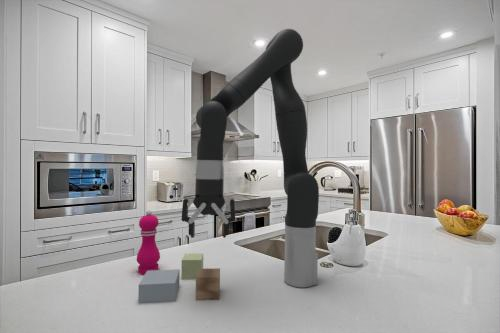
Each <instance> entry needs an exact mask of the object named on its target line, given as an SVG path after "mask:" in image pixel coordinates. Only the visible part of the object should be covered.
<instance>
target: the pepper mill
mask: <svg viewBox="0 0 500 333" xmlns="http://www.w3.org/2000/svg"><path fill="white" fill-rule="evenodd" d="M159 223H160V222H159V218H158V217H157V216H156V215H154V214H153V212H152V210H150V209H148V210H147V211H146V212H145V215H143V216H141V218H140V219H139V221H138V226H139V228H140V229H141V230H140V235H141V237H142V238H141V241H142V242H141V245H140V248H139V249H138V252H137V255H136V262H137V263H138V267H137V268H138V269H137V271H138V274H140V275H145V274H146V272H147V271H150V270H159V263H158V262H159V261H160V260H161V253H160V250H159V248H158V245H157V243H156V235H157V234H158V232H157V227H158V226H159Z"/></svg>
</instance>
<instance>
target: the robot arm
mask: <svg viewBox="0 0 500 333" xmlns="http://www.w3.org/2000/svg"><path fill="white" fill-rule="evenodd" d="M303 49H304V42H303V38H302V36H301V34H300V33H299V32H298V31H297V30H295V29H293V28H284V29H282V30H280V31H278V32H277V33H276V34H275V35H274V36H273V37H272V39H271V40H269V42H268V44H267V45H266V48H265V50H264V51H263V52H262V53H261V54H260V56H258V57H257V58H256V59H255V60H253V62H251V63H250V64H249V65H248V66H246V67H245V68H244V69H243V70H241V71H240V72H239V73H238V74H237V75H236V76H234V77H233V78H232V79H231V80H230V81H229V82H228V83H226V84H225V85H224V86H223V88H221V89H220V91H219V92H218V93H217V94H216V95H214V96H213V97H212V98H211V99H210V100H208V101H207V102H206V103H204V104H203V105H202V106H201V107H200V108H199V109H198V110H197V112H196V114H195V121H196V124H197V126H198V127H199V128H200V134H199V135H200V137H199V140H198V141H197V146H196V147H197V148H196V165H195V175H194V176H195V187H194V188H195V190H194V192H195V194H194V198H188V197H186V198H183V200H182V209H181V221H182V222H185V223H187V224H188V236H190V238H195V234H196V232H195V231H196V227H195V226H196V222H195V220H196V219H197V218H198V217H199V215H200V214H201V215H202V216H207V215H209V216H215V215H218V217H219V218H220V219H221V221H222V223H223V225H222V226H223V228H222V231H223V232H222V238H227V236H229V226H230V225H229V224H230V223H232V222H235V221H236V206H235V205H236V204H235V199H234V198H232V197H231V198H230V199H225V198H224V181H225V180H224V177H225V173H224V172H225V171H224V170H225V169H224V141H225V137H226V132H227V131H226V130H227V125H228V124H227V123H228V117H229V116H230V115H231V114H232V113H233V112H234V111H236V110H238V109H239V108H240V107H241V108H242V106H243V105H244V104H245V103H246V102H247V101H248V100H250V98H251V97H252V96H253V95H254V94H256V92H257V91H258V90H259V89H260V88H261V87H262V86H264V84H265V83H266V82H267V81H268V80H269V79H270V83H271V88H272V89H271V90H272V96H273V97H272V98H273V106H274V115H275V122H276V130H277V136H278V141H279V146H280V150H281V151H280V152H281V155H282V162H283V164H282V165H283V189H284V192H285V194H286V197H287V198H286V199H287V200H286V201H287V202H286V204H287V205H286V206H287V207H286V213H285V216H284V268H283V269H284V271H283V272H284V273H283V277H284V278H283V280H284V282H285V283H286V284H287V285H289V286H292V287H295V288H301V289H303V288H310V287H314V286H317V285H318V263H319V261H318V258H319V257H318V256H319V255H318V254H319V253H318V251H317V250H316V238H317V237H316V232H317V228H316V227H317V226H316V224H317V219H318V216H319V202H320V200H319V199H320V198H319V196H320V188H319V183H318V180H317V179H316V177H315V176H314V175H312V174H310V173H309V169H308V164H307V156H306V148H307V140H308V121H307V119H308V118H307V112H306V107H305V104H304V102H303V100H302V98H301V96H300V95H299V93H298V91H297V89H296V88H295V85H294V82H293V76H292V64H293V63H294V62H295V61H296V60H297V59H298V58H299V57H300V55H301V54H302V52H303ZM192 204H193V206H194V207H195V208H196V210H195V211H194V213H193V214H192V216H191V217H190V216H188V214H189V208H190V207H191V205H192ZM225 204H226V205H227V207H228V208H230V210H229V211H230V212H229V213H230V216H227V215H226V214H225V211H224V210H223V209H222V208H223V207H224V205H225Z"/></svg>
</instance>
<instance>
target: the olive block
mask: <svg viewBox="0 0 500 333" xmlns="http://www.w3.org/2000/svg"><path fill="white" fill-rule="evenodd" d="M198 269H204V253H203V252H202V253H199V252H198V253H193V252H192V253H184V255H183V257H182V259H181V276H180V277H181V278H180V279H181V280H196V276H197V273H198Z"/></svg>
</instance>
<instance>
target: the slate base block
mask: <svg viewBox="0 0 500 333" xmlns="http://www.w3.org/2000/svg"><path fill="white" fill-rule="evenodd" d="M180 272H181V271H180V269H179V268H178V269H158V270H150V271H147V272H146V274H143V277H142V278H141V280H140V282H139V283H138V298H137V299H138V304H139V305H140V304H152V303H153V304H155V303H169V302H170V303H171V302H176V299H177V296H178V293H179V289H180V277H181V276H180Z"/></svg>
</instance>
